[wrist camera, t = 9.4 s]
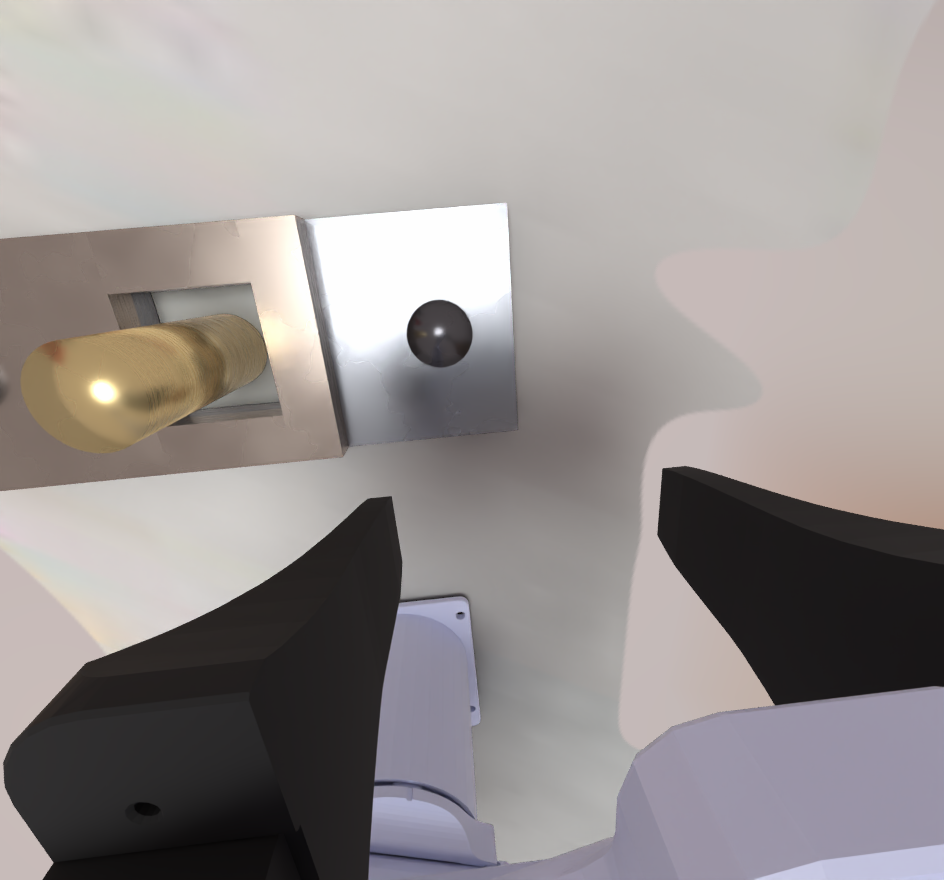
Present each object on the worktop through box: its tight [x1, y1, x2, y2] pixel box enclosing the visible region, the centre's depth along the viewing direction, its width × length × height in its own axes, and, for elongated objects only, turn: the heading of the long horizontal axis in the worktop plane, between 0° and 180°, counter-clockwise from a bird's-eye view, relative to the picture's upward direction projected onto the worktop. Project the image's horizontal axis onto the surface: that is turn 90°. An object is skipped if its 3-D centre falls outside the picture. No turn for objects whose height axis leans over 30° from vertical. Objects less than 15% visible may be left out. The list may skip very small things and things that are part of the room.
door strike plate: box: [0, 203, 518, 491], centre depth 17 cm, size 24×9×3 cm, turn 95°
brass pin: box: [20, 314, 267, 453], centre depth 15 cm, size 3×3×8 cm
